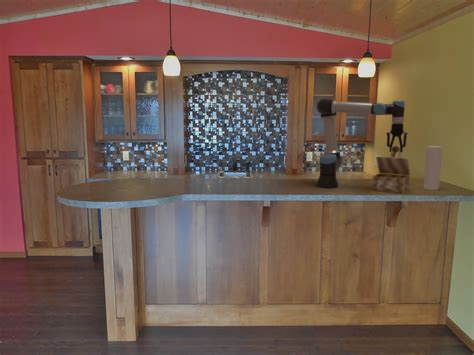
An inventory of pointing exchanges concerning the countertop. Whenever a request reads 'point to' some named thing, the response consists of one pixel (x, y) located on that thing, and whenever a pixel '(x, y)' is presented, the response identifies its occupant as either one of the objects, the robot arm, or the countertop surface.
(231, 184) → the countertop surface
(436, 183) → the cylinder container
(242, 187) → the countertop surface
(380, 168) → the wooden lid with knob
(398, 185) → the brown wooden box
